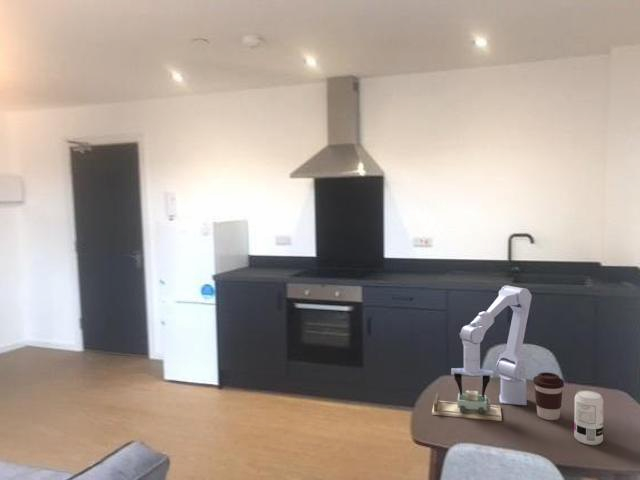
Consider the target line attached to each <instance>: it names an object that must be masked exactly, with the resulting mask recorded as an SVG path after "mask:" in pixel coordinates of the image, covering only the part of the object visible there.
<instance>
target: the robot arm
mask: <svg viewBox="0 0 640 480" xmlns="http://www.w3.org/2000/svg"><path fill="white" fill-rule="evenodd" d="M532 297H533V295H532V294H531V292H530V290H529V289H528V288H526V287H524V288H523V287H517V286H511V285H508V284H507V285H504V286H502V287H501V289H500V290H498V296H497V298H496V299H495V300H494V301H493V302H492V304H491V305H490V306H489V307H488V309H487V310H486V311H481V312H478V315H477V316H476V317H475V318H474V319H473V320H472V321H471V322H470V323H469V324H467V325H464V326H463V327H462V328H461V330H460V332H459V337H460V339H461V340H462V341H461V342H462V345H463V367H457V368H456V367H455V368H453V367H452V368H451V370H450V375H451V376H454V380H455V382H456V385H457V387H458V390H459V393H460V395H462V394H463V384H462V380H463V379H462V376H470V377H482V389H481V395H482V397H484V395H485V392H486V390H487V387H488V384H489V383H490V381H491V379H493V378H494V372H493V370H490V369H489V370H487V369H482V368H481V342H482V341H483V340H484V337H485V335H486V332H487V330H488V329H489V328H490V327H491V326H492V325H493V324H494V323H495V317H496V316H498V315H499V314H500V313H501V312H502V311H503V310H504V309H505V308H506V307H510V308H511V310H512V311H513V313H512V318H511V323H510V327H509V331H508V332H509V333H508V337H507V343H506V348H505V351H504V352H502V353H500V354H499V356H498V360H497V362H496V364H495V371H496V372H497V373H498V377H499V378H500V394H499V395H498V397H499V403H500V404H505V405H515V406H516V405H517V406H527V399H528V393H527V380H526V378H524V377H525V375H526V360H525V359H524V358H523V356H522V354H521V353H522V348H523V344H524V339H525V333H526V327H527V323H528V317H529V312H530V307H531V302H532ZM490 378H491V379H490Z"/></svg>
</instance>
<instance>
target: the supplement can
mask: <svg viewBox="0 0 640 480" xmlns="http://www.w3.org/2000/svg"><path fill="white" fill-rule="evenodd" d="M573 411H574V415H573V416H574V419H573V420H574V421H573V422H574V425H573V426H574V427H573V431H574V432H573V435H574V438H575V439H576V440H577V441H578V442H580V443H581V444H585V445H589V446H597V445H599V444H602V442H604V441H603V440H604V399H603V397H602V395H601V393H599V392H596V391H594V390H593V391H592V390H584V389H583V390H578V391H577V392H576V393H575V396H574V410H573Z"/></svg>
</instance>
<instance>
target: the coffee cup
mask: <svg viewBox="0 0 640 480" xmlns="http://www.w3.org/2000/svg"><path fill="white" fill-rule="evenodd" d="M532 379H533V380H532V382H533V384H534V386H535V388H534V396H535V405H536V412H537V413H536V414H537V416H538V417H539V418H540V419H543V420H545V421H546V420H547V421H556V420H559V419H560V415H561V407H562V399H563V398H562V397H563V390H562V389H563V388H564V387H565V380H564V379H562V378H561V377H560V376H559V375H558V374H556V373H553V372H539V373H538V374H537V375H535V376H534V377H533V378H532Z"/></svg>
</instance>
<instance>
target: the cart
mask: <svg viewBox="0 0 640 480" xmlns="http://www.w3.org/2000/svg"><path fill="white" fill-rule="evenodd" d="M457 402H458V408H460V411H461V412H465V410H466V409H476V410H478V412H479V413H480V414H483V413H484V410H487V411H490V405H491V400H490V398H488V397H487V395H486V394H484V397H482V394H478V402H477V401H466V393H462V395H460V392H458V394H457Z"/></svg>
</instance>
